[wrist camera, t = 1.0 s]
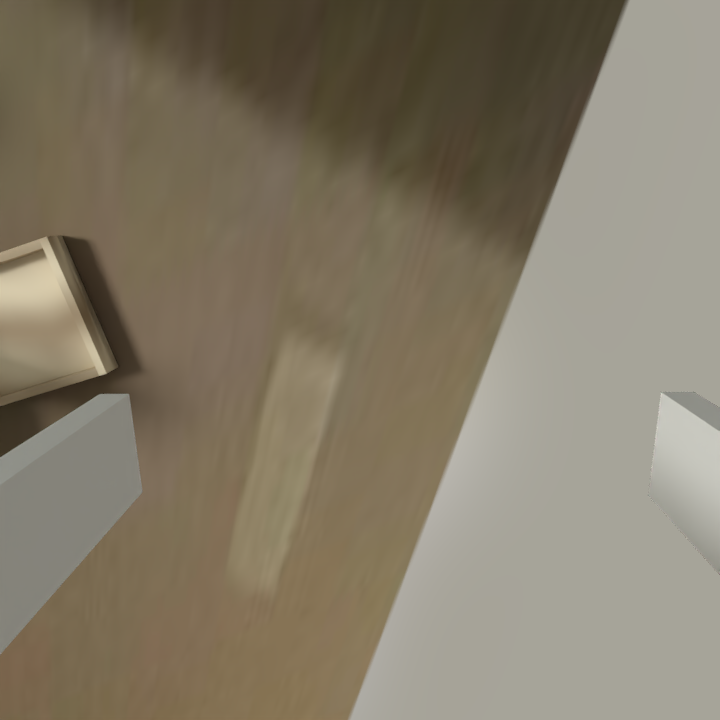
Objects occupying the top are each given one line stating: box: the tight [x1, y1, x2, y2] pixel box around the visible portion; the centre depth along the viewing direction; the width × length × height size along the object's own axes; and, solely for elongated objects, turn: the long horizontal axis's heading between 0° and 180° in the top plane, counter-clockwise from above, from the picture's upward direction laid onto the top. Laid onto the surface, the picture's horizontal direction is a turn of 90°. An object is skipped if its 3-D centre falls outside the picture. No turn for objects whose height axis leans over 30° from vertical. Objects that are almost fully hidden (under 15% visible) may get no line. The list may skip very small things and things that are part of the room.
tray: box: [0, 236, 118, 406], centre depth 40 cm, size 10×10×2 cm
